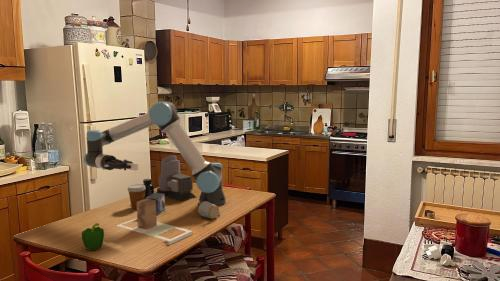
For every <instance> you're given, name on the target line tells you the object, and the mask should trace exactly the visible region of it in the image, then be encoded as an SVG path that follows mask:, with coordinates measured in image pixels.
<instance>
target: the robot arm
mask: <svg viewBox="0 0 500 281" xmlns="http://www.w3.org/2000/svg"><path fill="white" fill-rule="evenodd" d="M154 125H156V126H157V127H158V129H159V130H160V131H161V133H165V134H166V135H167V136H168V138H169V139H170V141H171V142H172V143H173V145H174V146H175V148H176V149H177V151H178V152H179V154H180V155H181V157H182V158H183V159H184V160H185V162H186V164H187V165H188V166H189V168H190V169H191V175H192V176H191V177H192V178H193V179H194V180H195V181H196V182H195V183H196V187H197V188H198V190H199V191H200V195H199V198H198V203H199V205H200V204H201V203H202V202H204V201H207V202H209V203H212V204H214V205H216V206H217V207H219V206H222V205H225V204H226V202H227V200H226V195H225V193H224V188H223V164H222V163H221V162H210V161H207V160H205V158H204V156H203V155H202V153H201V152H200V150H199V149H198V148H197V147H196V145H195V144H194V141H193V140H192V139H191V137H190V136H189V135H188V133H187V132H186V130H185V129H184V127H183V126H182V125H181V118H180V116H179V115H178V109H177V107H176V105H175V104H174V103H173V102H171V101H158V102H156V103H153V105H152V106H151V107H150V108H149V111H148V112H146V113H144V114H142V115H138V116H137V117H134V118H132V119H130V120H127V121H125V122H123V123H120V124H118V125H115V126H113V127H110V128H108V129H106V130H103V131H101V129H93V130H92V129H91V130H87V132H86V148H87V150H86V151H87V152H86V154H84V157H83V163H84V164H85V165H86V166H88V167H91V168H97V169H101V170H103V171H105V170H108V171H113V170H123V171H127V170H132V171H139V164H137V163H134V162H133V161H131V160H130V161H129V160H127V159H123V160H121V159H118V158H117V157H116V156H115V155H112V154H104V152H103V151H104V150H103V147H104V146H108V145H110V144H111V143H113V142H114V143H115V142H116V141H119V140H121V139H124V138H126V137H128V136H131V135H133V134H136V133H139V132H141V131H142V130H145V129H147V128H151V127H153V126H154Z"/></svg>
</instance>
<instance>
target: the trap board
mask: <svg viewBox="0 0 500 281" xmlns="http://www.w3.org/2000/svg"><path fill="white" fill-rule="evenodd" d="M136 220H137V217H136V218H133V219H130V220H127V221H125V222H122V223H119V224H117V225H116V227H119V228H122V229H124V230H125V229H127V230H130V231H132V232H135V233H136V232H137V233H140V234H142V235H147V236H149V237H154V238H156V239H159V240H163V241H164V242H162V243H163V244H166V245H169V246H170V245H172V244H174V243H177V242H178V241H179V242H180V241H182V240H183V239H185V238H187V237H188V238H189V236H192V235H193V230H190V229H187V228H183V227H178V226H175V225H173V224H172V225H171V224H167V223H164V222H161V221H157V226H155V227H153V228H150V229H148V230H146V229H142V228H139V227H138V225H137V226H135V227H130V226H126V225H125V224H128V223H131V222H133V221H136ZM173 229H175V230H179V231H182V232H183V233H181V234H179V235H177V236H174V237H172V238H168V237H164V236H161V234H164V233H166V232H169V231H171V230H173Z"/></svg>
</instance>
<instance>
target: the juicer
mask: <svg viewBox="0 0 500 281" xmlns="http://www.w3.org/2000/svg"><path fill="white" fill-rule="evenodd" d="M177 157H178V156H177V155H175V154H172V155H169V156H166V157H164V158H163V159H161V162H160V163H161V164H160V165H161V166H160V174H158V188H156V191H155V193H161V194H165V197H166V198H167V197H168V198H170V199H172V200H176V201H178V202H183V201H187V200H192V199H197V196H196V194H193V192H192V191H193V189H194V184H193V183H194V182H193V179H194V177H193V176H190V175H186V174H183V173H181V160H179V159H177Z"/></svg>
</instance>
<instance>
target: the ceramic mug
mask: <svg viewBox="0 0 500 281" xmlns="http://www.w3.org/2000/svg"><path fill="white" fill-rule="evenodd" d="M198 214H199V215H200V216H201V217H204V218H206V219H210V220H214V219H216V218H217V216H221V211H220V209H219V206H216V205H214V204H212V203H209V202H207V201H204V202H202V203H201V204H199V206H198Z"/></svg>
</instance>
